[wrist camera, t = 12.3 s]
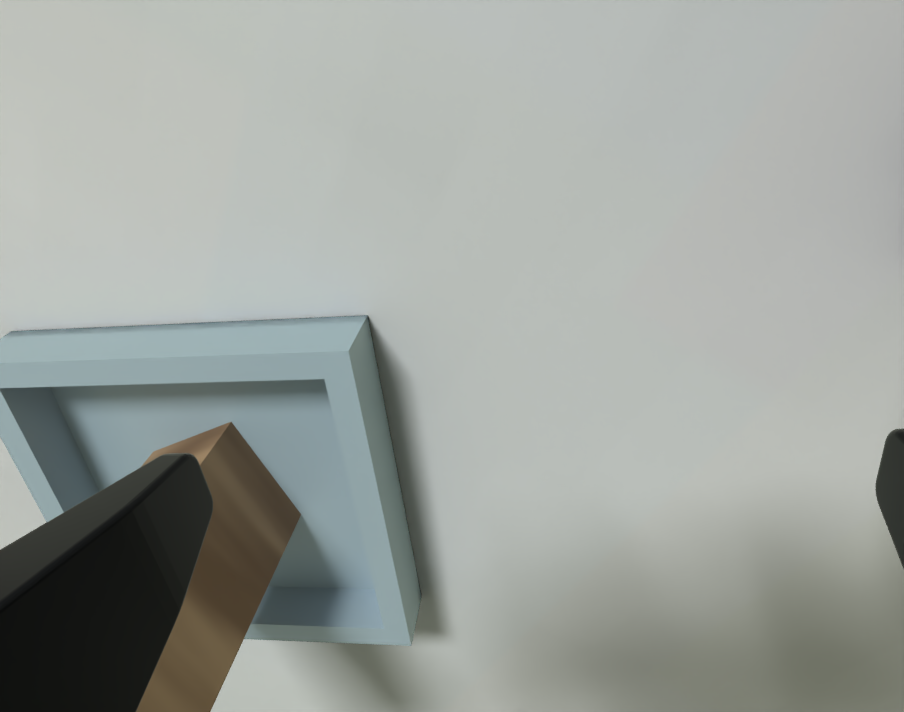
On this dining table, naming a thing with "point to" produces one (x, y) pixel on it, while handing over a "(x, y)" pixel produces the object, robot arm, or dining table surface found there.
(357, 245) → the dining table surface
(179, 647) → the walnut block
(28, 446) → the tray
